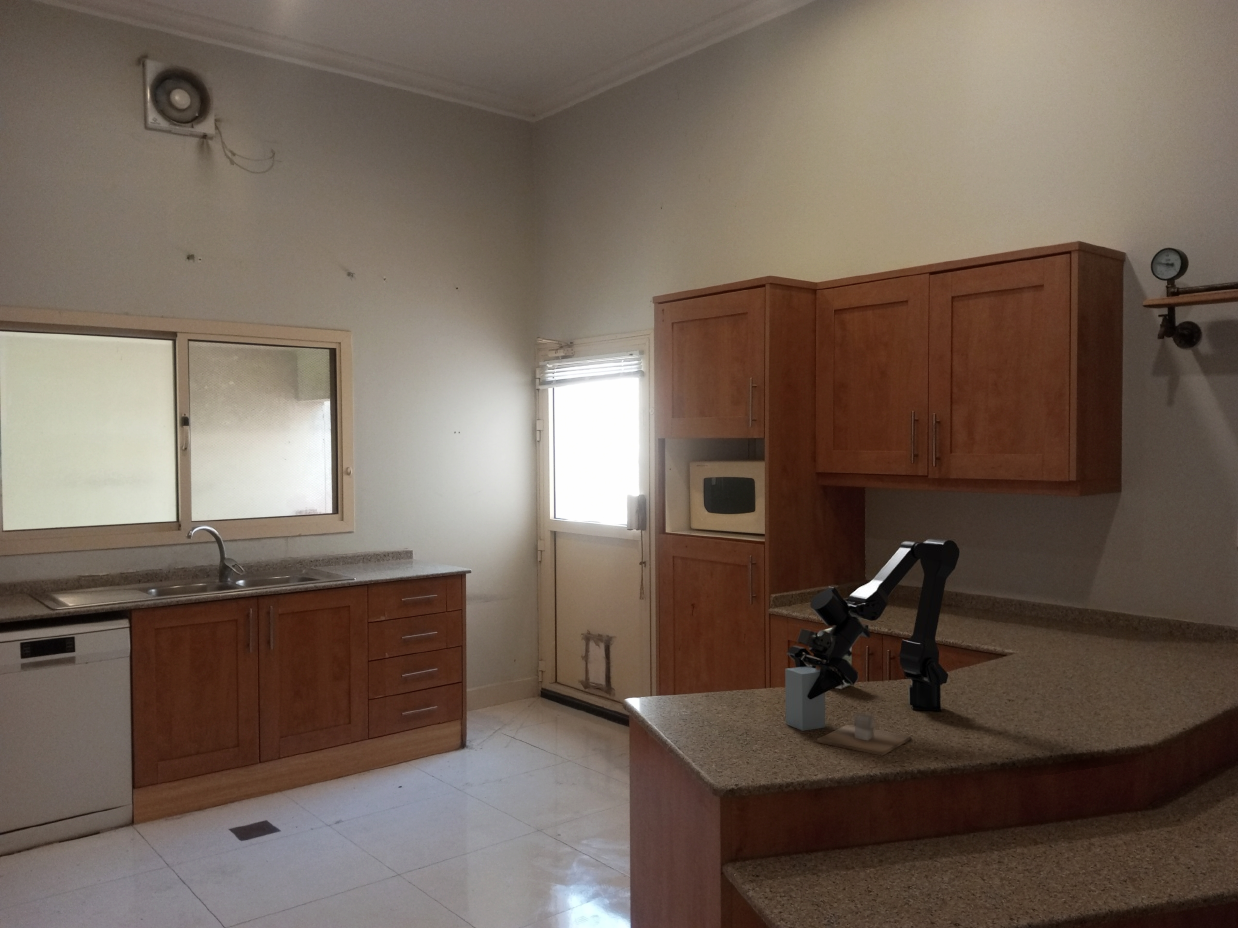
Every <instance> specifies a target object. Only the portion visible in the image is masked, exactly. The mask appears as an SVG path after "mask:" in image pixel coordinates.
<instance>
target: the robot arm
mask: <svg viewBox="0 0 1238 928" xmlns="http://www.w3.org/2000/svg"><path fill="white" fill-rule="evenodd" d="M960 554H961V553H960V547H958V544H957V543H956V542H955V541H954V540H952V539H951V540H950V539H940V538H939V539H938V538H928V539H926V540H925V541H923V542H918V541H911V540H909V541H908V540H906V541H902V542H901V543H900V545H899V548H898V549H897V551H896V552H895V553H894V554H893V555H892V557H890V559H889V560H888V561H887V563H886V564H885V565H884V566H883V567H882V568H881V569H880V570H879V572H878V573H877V574H876V575H875V576H874V577H873V579H872V580H871V581H869V582H868V583H866V584H864V585H862V586H860V587H858V588H857V589H856V590H855V591H853V592H852V593H850V594H849V596H848V597H847V598H843V597H842V595H841V594H840V593H839V591H838V589H836V587H833V586H828V587H827V589H825V590H823V591H820V592H819V593H817V594H816V595H814V596H813V597H812V599H811V601H810V602H809V603H810V604H809V606H810V608H811V609H812V611H813V612H814V613H815V614H816V615H817V616H818V617H819V618H820V619H821V621H823V623H824V624H825V625H826V626H829V627H831V626H832V627H831V628H832V629H831V630H830V632H829V633H828V632H826V631H823V629H822V630H821V629H820V630H819V631H818V632H817V631H813V630H810V629H804V628H801V629H800V631H799V634H798V637H797V640H796V642H797V644H802V645H804V646H806V647H808V649H807V648H806V647H803V646H799V645H792V646H790V648H789V649H788V651H787V652H786V655H787V656H789V657H790V658H791V660H792V661H793V662H794V665H795V668H796V667H805V666H809V667H812V668H815V669H817V668H819V670H820V675H819V677H818V678H817V680H816V682H815V683H814V685H813V686H812V688H811V690H810V691H809V693H808V695H807V697H808V698H809V699H813V698H815V697H817V696H819V695H821V694H823V693H825V694H826V692H829V691H831V690H832V689H837V688H836V687H838V686H841V685H842V686H843V685H844V683H843V680H844V682H845V683H846V684H850V686H854V685H855V684H856V683H857V681H858V680H859V672H858V671H857V669H855V668H854V666H853V665H852V663H851V664H850V663H849V662H848V661H847V660H846V659H843V658H844V657H845V656H849V657H850V656H851V654H853V652H851V651H850V649H851V647H853V646H854V644H855V643H856V642H857V640H858V639H859V637H865V638H870V637H871V633H870V629H869V627H870V625H868V624H864V623H862V621H861V620H866V621H870V622H872V621H873V622H875V621H877V620H879V618H881V617H882V615H883V613H884V612H885V610H886V608H887V606H888V603H889V597H890V595H891V594H892V592H893V591H894V590H895V588H896V587H898V585H899V584H900V582H902V580H903V579H904V578H905V577H906V575H908V573H909V572H910V571H911V570H912V568H913V567H914V565H916V564H917V562H918V561H919V563H920V566H921V568H922V572H923V580H922V586H921V590H920V596H919V599H918V600H919V601H918V606H917V610H916V611H917V612H916V616H915V623H914V627H913V633H912V634H911V636H910V637H909V638H908V640H907V639H906V640H905V639H902V640H901V642H900V652H899V653H898V655H897V656H898V658H899V666H900V667H901V668H902V671H903V674H904V676H905V677H904V678H906V679H909V680H910V684H909V685H908V705H910V706H911V710H919V711H933V712H934V711H936V712H938V711H939V712H942V711H943V707H942V705H941V704H942V703H941V702H942V701H941V700H942V699H941V693H942V692H941V688H942V687H941V686H942V685H944V684H947V682H948V677H949V673H948V672H947V671H946V670H945V668H943V666H942V665H941V664H940V663H939V662H940V652H939V648H938V645H937V642H936V635H937V630H938V626H939V625H938V624H939V620H940V615H941V610H942V605H943V604H942V603H943V600H944V594H945V588H946V581H947V579H948V578H949V576H950V575H951V574H952V573H953V572H954V570H955V569H956V567H957V563H958V560H959V557H960ZM811 653H812V654H813V655H812V654H811Z"/></svg>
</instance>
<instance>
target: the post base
mask: <svg viewBox="0 0 1238 928" xmlns="http://www.w3.org/2000/svg"><path fill="white" fill-rule="evenodd" d="M911 740H912V736H911V735H906V734H900V733H896V732H891V731H886V730H879V729H874V715H873V714H868V713H858V714H856V715H854V725H851V724H846V725H844V726H842V727H840V728H838V729H836V730H834V731H831V732H829V733H828V734H825V735H823V736H821V737H819V738H817V739H816V743H820V744H824V745H829V746H832V747H833V746H834V747H839V748H844V749H848V750H854V751H859V752H864V753H869V754H873V755H879V756H884V755H886V754H888V753H889V752H891V751H894V749H896V748H898V747H899V746H902V745H903V744H905V743H907V742H909V741H911Z"/></svg>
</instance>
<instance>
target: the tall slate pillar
mask: <svg viewBox="0 0 1238 928" xmlns="http://www.w3.org/2000/svg"><path fill="white" fill-rule="evenodd" d="M784 672H785V677H784V678H785V679H784V680H785V681H784V682H785V685H784V687H785V693H784V694H785V695H784V696H785V724H786V725H788V726H790V727H791V728H792V727H793V728H795V729H798V730H800V731H802V732H803V731H809V730H816V729H823V728H826V692H825V693H823V694H821V695H819V696H817V697H815V698H813V699H809V698H808V697H807V695H808V693H809V691H810V690H811V688H812V686H813V685H814V683H815V682H816V680H817V678H818V677H819V675H820V668H819V669H818V668H812V667H809V666H805V667H796V666H795V667H789V668H788V667H787V668H785V669H784Z"/></svg>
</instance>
